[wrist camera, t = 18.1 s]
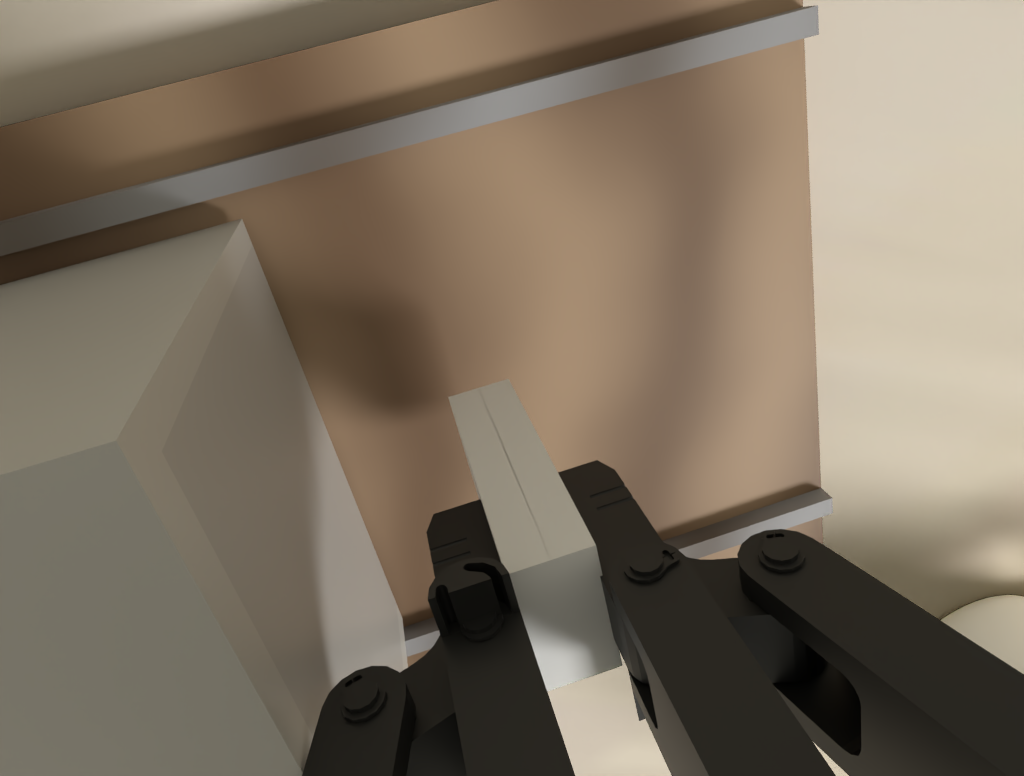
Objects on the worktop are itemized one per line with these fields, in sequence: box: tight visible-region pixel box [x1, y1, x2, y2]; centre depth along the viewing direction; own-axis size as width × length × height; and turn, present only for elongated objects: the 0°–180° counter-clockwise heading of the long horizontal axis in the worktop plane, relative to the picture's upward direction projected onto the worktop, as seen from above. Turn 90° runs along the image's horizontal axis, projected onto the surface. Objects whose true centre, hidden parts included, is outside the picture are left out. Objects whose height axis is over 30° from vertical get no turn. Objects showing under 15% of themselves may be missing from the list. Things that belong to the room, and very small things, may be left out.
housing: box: [0, 219, 408, 776], centre depth 14 cm, size 10×12×10 cm
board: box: [0, 0, 833, 667], centre depth 19 cm, size 24×18×3 cm
